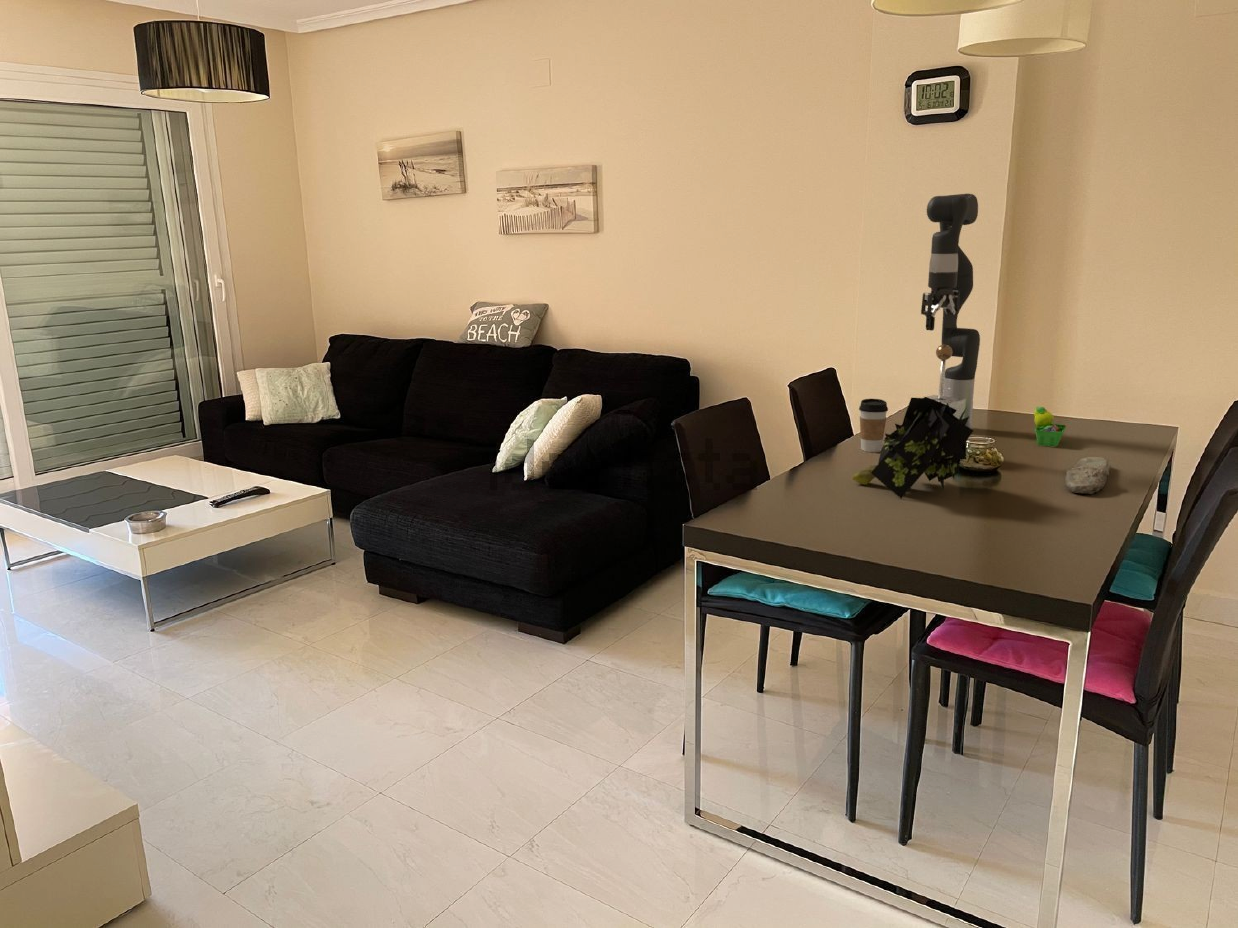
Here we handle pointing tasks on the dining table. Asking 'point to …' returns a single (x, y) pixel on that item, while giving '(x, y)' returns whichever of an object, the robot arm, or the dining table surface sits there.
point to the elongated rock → (1087, 475)
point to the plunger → (943, 365)
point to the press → (952, 404)
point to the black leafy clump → (920, 447)
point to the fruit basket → (1047, 428)
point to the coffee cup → (872, 424)
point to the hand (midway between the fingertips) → (939, 329)
